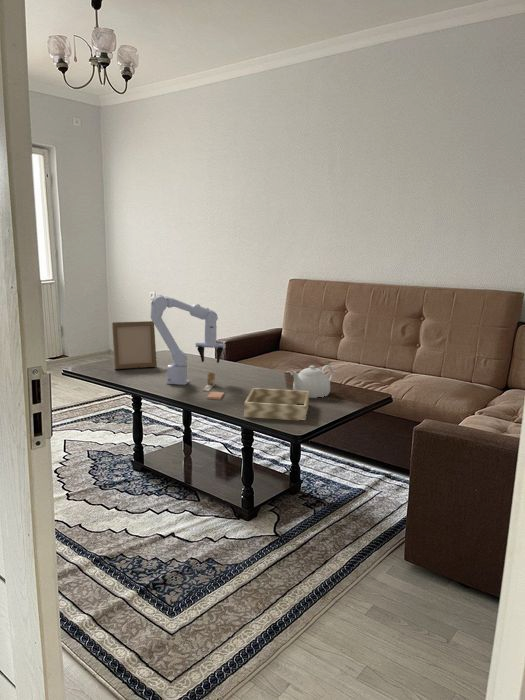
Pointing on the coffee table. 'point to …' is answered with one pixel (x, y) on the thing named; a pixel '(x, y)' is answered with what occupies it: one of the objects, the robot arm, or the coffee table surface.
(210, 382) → the turner
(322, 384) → the teapot
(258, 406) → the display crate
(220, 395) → the tile
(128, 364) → the photo frame
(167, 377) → the robot arm
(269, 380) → the coffee table surface
